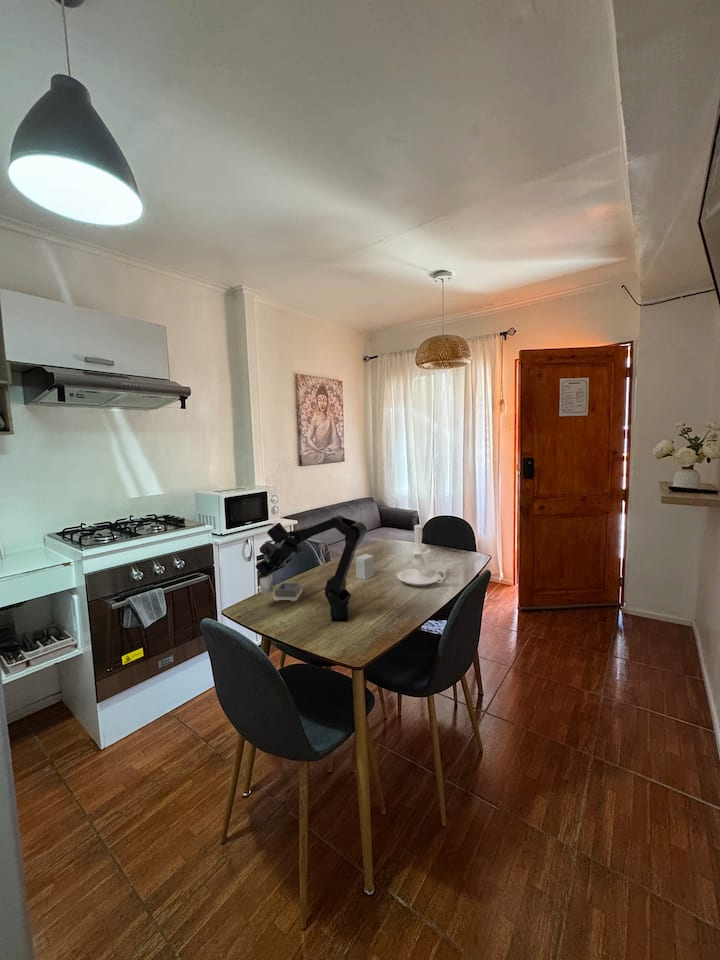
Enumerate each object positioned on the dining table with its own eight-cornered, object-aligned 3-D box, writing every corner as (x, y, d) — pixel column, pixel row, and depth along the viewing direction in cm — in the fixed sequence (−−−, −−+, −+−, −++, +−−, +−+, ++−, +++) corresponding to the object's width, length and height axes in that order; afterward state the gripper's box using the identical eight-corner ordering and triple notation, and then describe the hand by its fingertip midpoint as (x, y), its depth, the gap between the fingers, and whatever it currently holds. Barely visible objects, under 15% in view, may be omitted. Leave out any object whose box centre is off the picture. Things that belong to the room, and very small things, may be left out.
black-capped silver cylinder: (275, 588, 170) (273, 560, 168) (270, 593, 165) (268, 564, 163) (264, 588, 171) (262, 560, 169) (258, 593, 166) (256, 563, 164)
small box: (366, 573, 205) (365, 553, 204) (374, 575, 201) (374, 555, 200) (355, 578, 199) (355, 557, 198) (364, 580, 195) (364, 559, 194)
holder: (302, 591, 184) (301, 582, 183) (296, 600, 174) (295, 590, 173) (281, 591, 185) (280, 581, 184) (273, 600, 175) (273, 590, 174)
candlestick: (436, 596, 174) (435, 533, 171) (388, 584, 189) (387, 526, 186) (456, 581, 190) (456, 523, 187) (411, 571, 205) (410, 518, 202)
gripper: (284, 531, 172) (264, 554, 178) (258, 543, 155) (236, 568, 160) (301, 550, 170) (280, 573, 176) (276, 564, 153) (254, 589, 158)
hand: (263, 575), depth 168 cm, fingers closed on black-capped silver cylinder, 5 cm apart
